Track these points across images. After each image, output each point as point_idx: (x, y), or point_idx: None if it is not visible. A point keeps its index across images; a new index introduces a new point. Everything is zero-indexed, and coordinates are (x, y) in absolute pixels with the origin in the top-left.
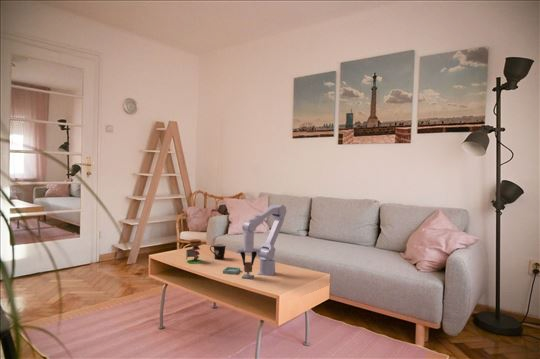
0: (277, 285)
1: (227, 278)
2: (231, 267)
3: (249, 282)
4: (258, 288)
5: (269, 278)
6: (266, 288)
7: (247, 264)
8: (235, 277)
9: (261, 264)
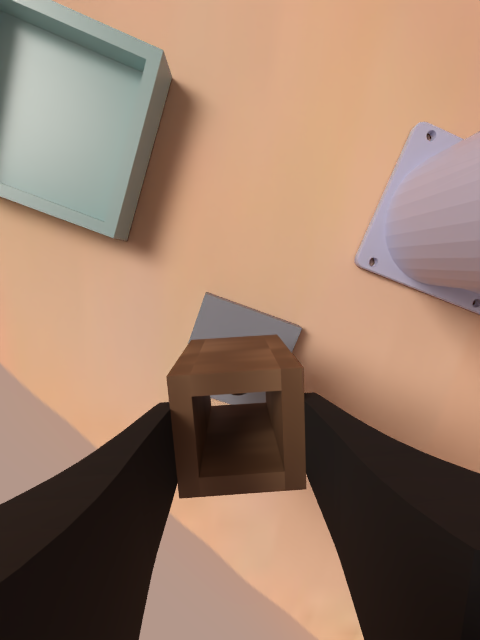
0: None
1: (43, 373)
2: (36, 11)
3: None
4: (278, 604)
5: (423, 400)
6: (331, 606)
7: (220, 484)
8: (118, 348)
9: (476, 253)
